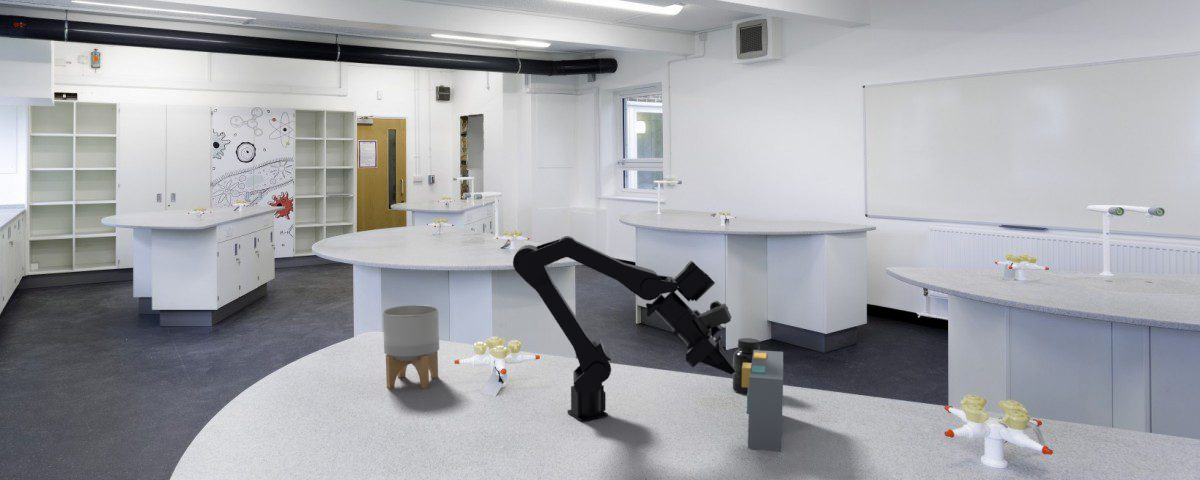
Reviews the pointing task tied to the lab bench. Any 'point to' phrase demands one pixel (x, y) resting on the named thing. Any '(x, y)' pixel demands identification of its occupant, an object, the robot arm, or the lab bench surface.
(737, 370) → the supplement bottle
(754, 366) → the button panel
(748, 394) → the teal button
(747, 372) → the amber button
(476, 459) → the lab bench surface
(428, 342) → the planter
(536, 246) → the robot arm
